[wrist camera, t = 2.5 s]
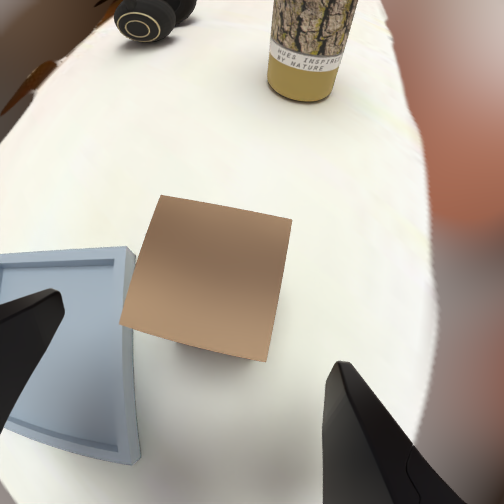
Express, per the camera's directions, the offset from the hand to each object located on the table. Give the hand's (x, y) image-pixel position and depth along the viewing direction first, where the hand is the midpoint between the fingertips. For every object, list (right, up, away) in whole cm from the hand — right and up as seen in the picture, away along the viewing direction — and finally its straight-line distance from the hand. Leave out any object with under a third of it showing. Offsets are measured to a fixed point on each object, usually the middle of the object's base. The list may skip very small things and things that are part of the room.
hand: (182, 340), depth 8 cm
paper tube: (+7, +20, +18) cm, 28 cm away
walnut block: (0, -1, +10) cm, 10 cm away
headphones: (-11, +34, +23) cm, 42 cm away
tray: (-13, -5, +8) cm, 16 cm away
